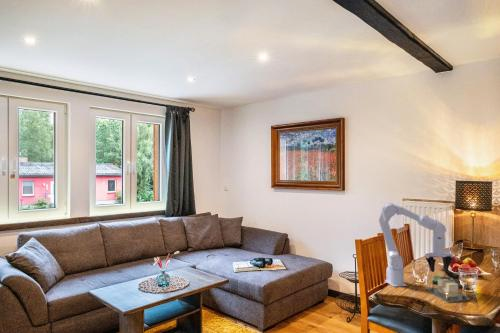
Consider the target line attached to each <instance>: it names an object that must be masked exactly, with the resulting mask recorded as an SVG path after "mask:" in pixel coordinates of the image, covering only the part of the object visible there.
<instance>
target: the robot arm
mask: <svg viewBox="0 0 500 333" xmlns="http://www.w3.org/2000/svg"><path fill="white" fill-rule="evenodd" d="M395 215H397V216H399V215H400V216H401V215H403V216H406V217H407V218H410V219H412V220H415V221H416V222H417V224H418V225H419V226H422V227H424V228H426V229H427V230H430V231H432V252H429V253H427V252H426V253H424V254H425V255H424V258H425V260H426V261H427V263H428V267H429V271H430V272H433V273H434V272H435V265H436V259H435V258H442V263H443V265H442V266H443V271H444V272H448V270H449V268H450V265H451V263H452V261H453V257H454V253H452V252H446V237H445V236H446V232H447V228H446V226H445V224H443V222H441V221H439V220H437V219H434V218H431V217H429V215H428V214H425V215H424V214H422V215H419V214H418V213H415V212H414V211H411V210H409V209H408V208H405V207H403V206H400V205H399V204H394V203H393V202H392V203H391V202H388V203H386V204H384V206H383V207H382V210H381V212H380V215H379V218H378V222H379V225H380V228H381V231H382V235H383V238H384V241H385V244H386V247H387V251H388V254H389V255H388V256H389V263H390V264H389V266H387V267H386V270H385V272H386V273H385V277H386V278H385V280H384V282H386V283H387V284H388V285H390V286H392V287H407V286H408V284H406V283H404V282H405V281H404V280H405V278H404V277H405V276H404V268H405V267H404V261H403V257H402V256H401V255H400V253H399V250H398V248H397V245H396V242H395V239H394V236H393V233H392V230H391V226H390V224H389V222H390V220H391V218H393V217H394V216H395Z"/></svg>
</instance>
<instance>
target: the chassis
mask: <svg viewBox="0 0 500 333" xmlns="http://www.w3.org/2000/svg"><path fill="white" fill-rule="evenodd" d="M425 290H426V291H427V292H428V293H430V294H432V295H433V296H435V297H437V298H439V299H441V300H443V301H444V302H446V303H463V302H465V303H466V302H472V299H471V297H468V296H467V292H466V291H462V292H461V293H460V292H458V296H457V297H450V293H446V295H444V294H442V293H440V292H439V291H438V287H435V286H434V284H429V288H426V289H425Z"/></svg>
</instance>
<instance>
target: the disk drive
mask: <svg viewBox="0 0 500 333" xmlns="http://www.w3.org/2000/svg"><path fill="white" fill-rule="evenodd" d="M438 279H448V280H450V281H453V282H455V283H457V284H458V290H462V285H461V284H460V281H459V280H460V279H459V278H453V277H452V278H451V277H446V276H441V275H434V277H433V279H432V285H435V286H438Z"/></svg>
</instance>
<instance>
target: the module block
mask: <svg viewBox="0 0 500 333" xmlns="http://www.w3.org/2000/svg"><path fill="white" fill-rule="evenodd" d="M437 288H438V291H439V292H440V293H442V294H444V295H446V293H450V297H457V296H458V293H459V289H458V284H457V283H455V282H453V281H450V280H448V279H438V285H437Z"/></svg>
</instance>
